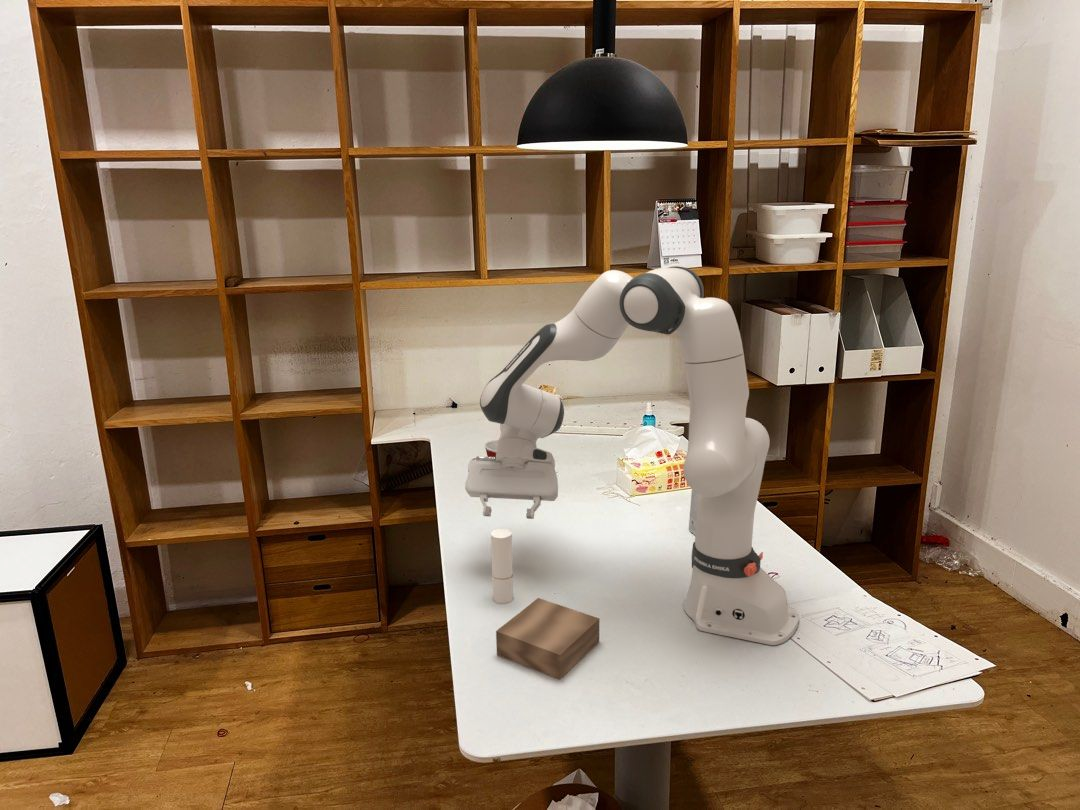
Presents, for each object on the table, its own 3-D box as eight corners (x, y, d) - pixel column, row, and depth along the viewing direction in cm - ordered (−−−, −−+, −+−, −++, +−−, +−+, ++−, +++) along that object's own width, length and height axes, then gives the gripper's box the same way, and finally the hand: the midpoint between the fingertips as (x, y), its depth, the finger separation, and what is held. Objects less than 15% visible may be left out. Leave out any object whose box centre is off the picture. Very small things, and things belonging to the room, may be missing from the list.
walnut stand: (599, 641, 154) (599, 618, 152) (560, 679, 142) (559, 655, 141) (538, 619, 161) (538, 597, 160) (496, 654, 150) (496, 631, 148)
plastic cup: (528, 487, 226) (527, 447, 223) (491, 493, 223) (490, 453, 219) (516, 474, 236) (515, 436, 233) (480, 479, 233) (479, 440, 229)
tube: (503, 605, 166) (501, 539, 162) (488, 598, 169) (486, 533, 165) (517, 597, 169) (515, 532, 165) (502, 590, 172) (501, 527, 168)
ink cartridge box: (727, 544, 192) (730, 487, 188) (706, 547, 190) (709, 490, 186) (708, 526, 201) (711, 472, 197) (687, 529, 200) (690, 475, 195)
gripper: (467, 450, 177) (458, 508, 171) (559, 453, 174) (553, 514, 168) (472, 461, 183) (463, 519, 176) (561, 465, 180) (556, 524, 173)
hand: (508, 516), depth 172 cm, fingers open, 8 cm apart
